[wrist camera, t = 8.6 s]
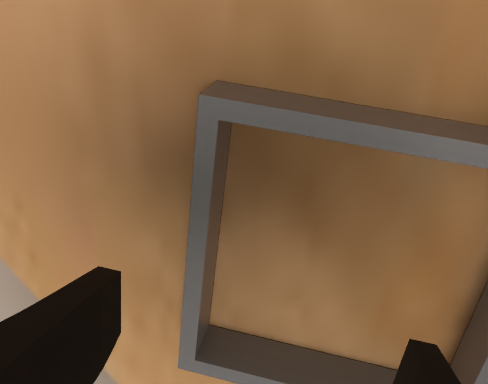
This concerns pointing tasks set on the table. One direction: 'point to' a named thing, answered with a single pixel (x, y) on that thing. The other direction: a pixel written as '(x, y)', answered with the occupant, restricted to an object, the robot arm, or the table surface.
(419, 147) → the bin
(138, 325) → the table surface
